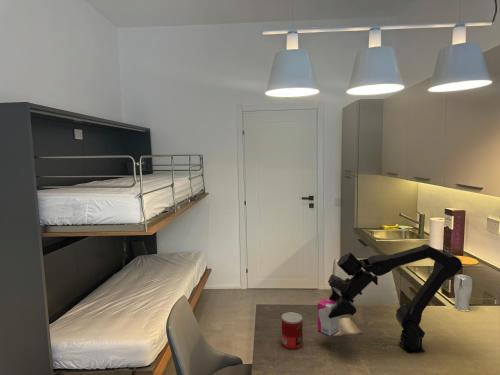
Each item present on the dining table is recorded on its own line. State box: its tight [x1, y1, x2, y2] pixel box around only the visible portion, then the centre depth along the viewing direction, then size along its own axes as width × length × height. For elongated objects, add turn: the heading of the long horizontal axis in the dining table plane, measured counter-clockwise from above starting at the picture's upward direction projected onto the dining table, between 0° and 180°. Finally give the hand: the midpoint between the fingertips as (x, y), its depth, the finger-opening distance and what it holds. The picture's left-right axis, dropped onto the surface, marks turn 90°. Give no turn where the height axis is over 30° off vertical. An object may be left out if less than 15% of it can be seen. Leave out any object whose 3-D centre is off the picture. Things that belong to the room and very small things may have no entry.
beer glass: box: [453, 273, 473, 311], centre depth 154 cm, size 7×7×15 cm
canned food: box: [281, 312, 304, 350], centre depth 129 cm, size 8×8×11 cm
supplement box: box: [317, 298, 340, 338], centre depth 127 cm, size 6×6×12 cm
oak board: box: [332, 317, 362, 337], centre depth 141 cm, size 12×12×1 cm
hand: (327, 312), depth 127 cm, fingers closed on supplement box, 8 cm apart
